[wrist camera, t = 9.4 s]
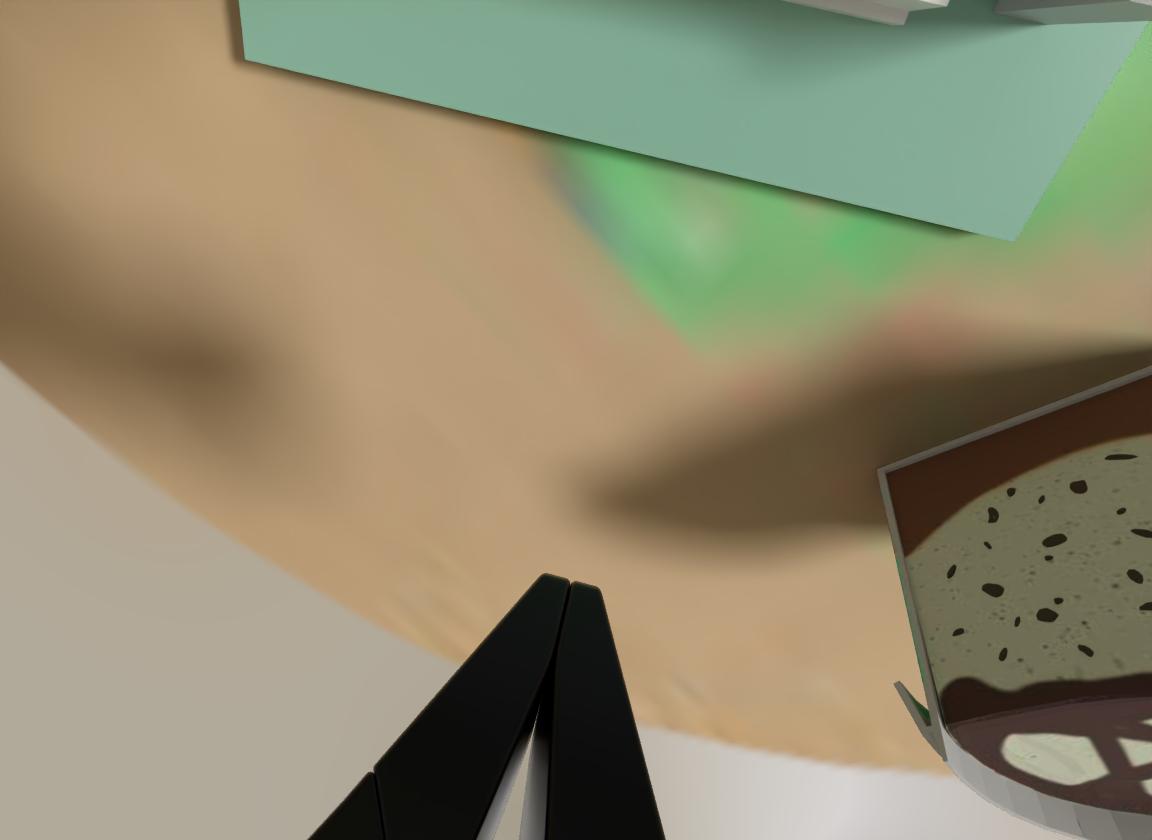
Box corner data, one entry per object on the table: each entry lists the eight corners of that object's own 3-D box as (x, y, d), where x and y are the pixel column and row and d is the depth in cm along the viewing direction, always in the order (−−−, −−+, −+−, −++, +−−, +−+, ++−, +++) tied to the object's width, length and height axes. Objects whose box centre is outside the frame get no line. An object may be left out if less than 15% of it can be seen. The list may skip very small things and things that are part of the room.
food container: (899, 592, 24) (1007, 892, 15) (833, 484, 21) (918, 766, 13) (1314, 475, 18) (1824, 838, 10) (1282, 315, 16) (1899, 610, 8)
